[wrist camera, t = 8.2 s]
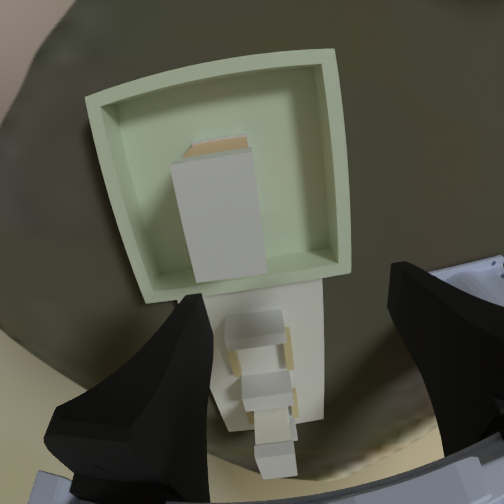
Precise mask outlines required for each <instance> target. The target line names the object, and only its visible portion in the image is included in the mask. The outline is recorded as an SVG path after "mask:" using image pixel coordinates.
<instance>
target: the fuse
mask: <svg viewBox="0 0 504 504" xmlns="http://www.w3.org/2000/svg"><path fill="white" fill-rule="evenodd" d="M254 425H255V442H256V446H254V450H255V460H256V462H257V465H258V468H259V470H260V473H261V475H262V477H263V480H265V479H274V478H283V477H290V476H297V475H298V474H297V466H296V458H295V450H294V443H293V441H292V439H291V432H290V418H289V410H288V406H286V407H280V408H272V409H265V410H257V411H254Z"/></svg>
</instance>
